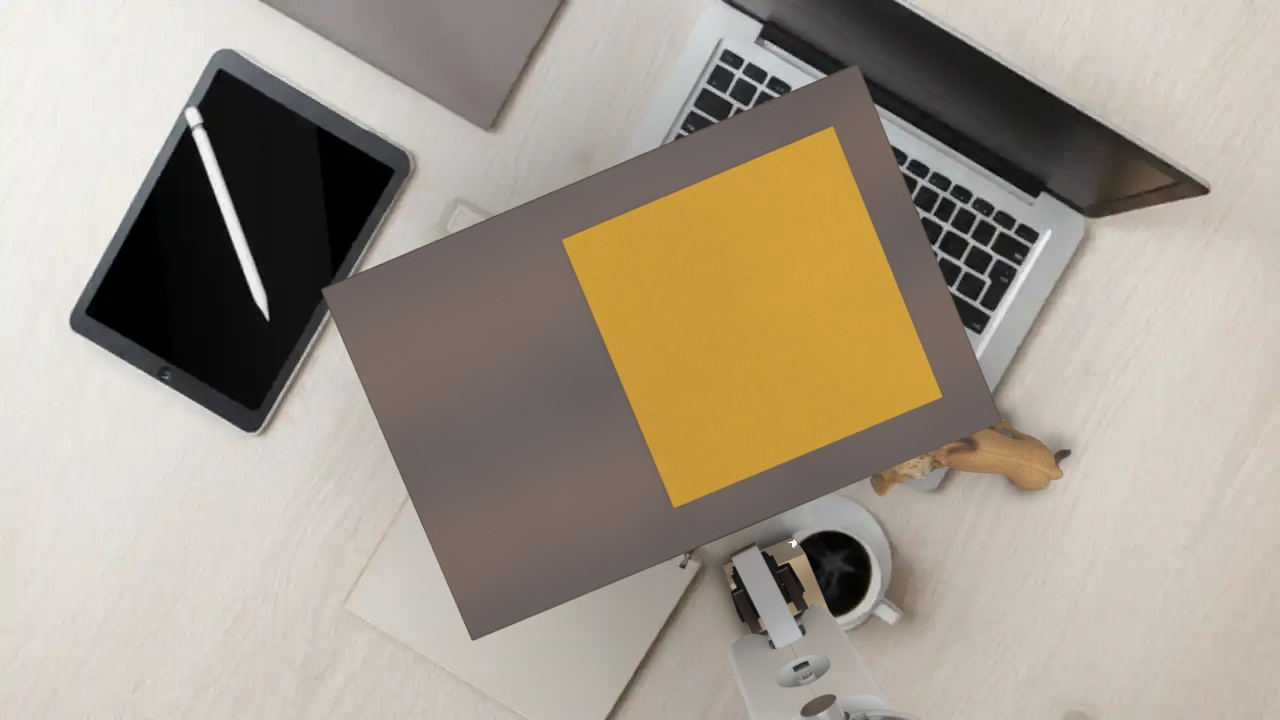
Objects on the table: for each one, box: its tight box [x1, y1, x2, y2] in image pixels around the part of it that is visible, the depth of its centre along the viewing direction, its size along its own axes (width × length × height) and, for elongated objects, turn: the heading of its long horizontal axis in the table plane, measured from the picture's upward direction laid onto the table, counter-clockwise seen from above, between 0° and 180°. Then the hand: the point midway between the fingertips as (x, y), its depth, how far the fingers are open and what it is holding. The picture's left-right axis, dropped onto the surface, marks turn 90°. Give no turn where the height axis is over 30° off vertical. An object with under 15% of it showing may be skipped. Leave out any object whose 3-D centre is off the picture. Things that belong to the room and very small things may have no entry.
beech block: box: [723, 536, 830, 634], centre depth 70 cm, size 5×5×5 cm
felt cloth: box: [562, 126, 942, 508], centre depth 45 cm, size 12×12×1 cm
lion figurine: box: [869, 417, 1072, 497], centre depth 67 cm, size 15×5×9 cm, turn 87°
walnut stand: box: [320, 63, 1002, 642], centre depth 58 cm, size 16×24×26 cm, turn 113°
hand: (806, 668), depth 54 cm, fingers open, 9 cm apart
